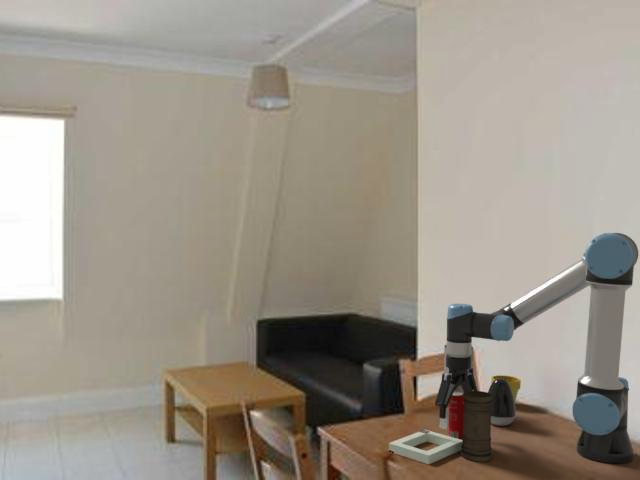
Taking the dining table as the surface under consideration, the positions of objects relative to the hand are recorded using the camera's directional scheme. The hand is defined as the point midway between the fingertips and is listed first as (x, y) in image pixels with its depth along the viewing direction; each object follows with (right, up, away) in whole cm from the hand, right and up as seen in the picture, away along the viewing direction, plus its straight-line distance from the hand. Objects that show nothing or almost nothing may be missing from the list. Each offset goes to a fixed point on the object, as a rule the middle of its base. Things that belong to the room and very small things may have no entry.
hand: (456, 423), depth 203 cm
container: (+3, -6, -12) cm, 14 cm away
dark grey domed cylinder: (+18, -5, +19) cm, 27 cm away
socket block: (-10, -6, -8) cm, 14 cm away
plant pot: (+27, -5, +41) cm, 49 cm away
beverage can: (0, -6, 0) cm, 6 cm away
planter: (+7, -5, +35) cm, 36 cm away
